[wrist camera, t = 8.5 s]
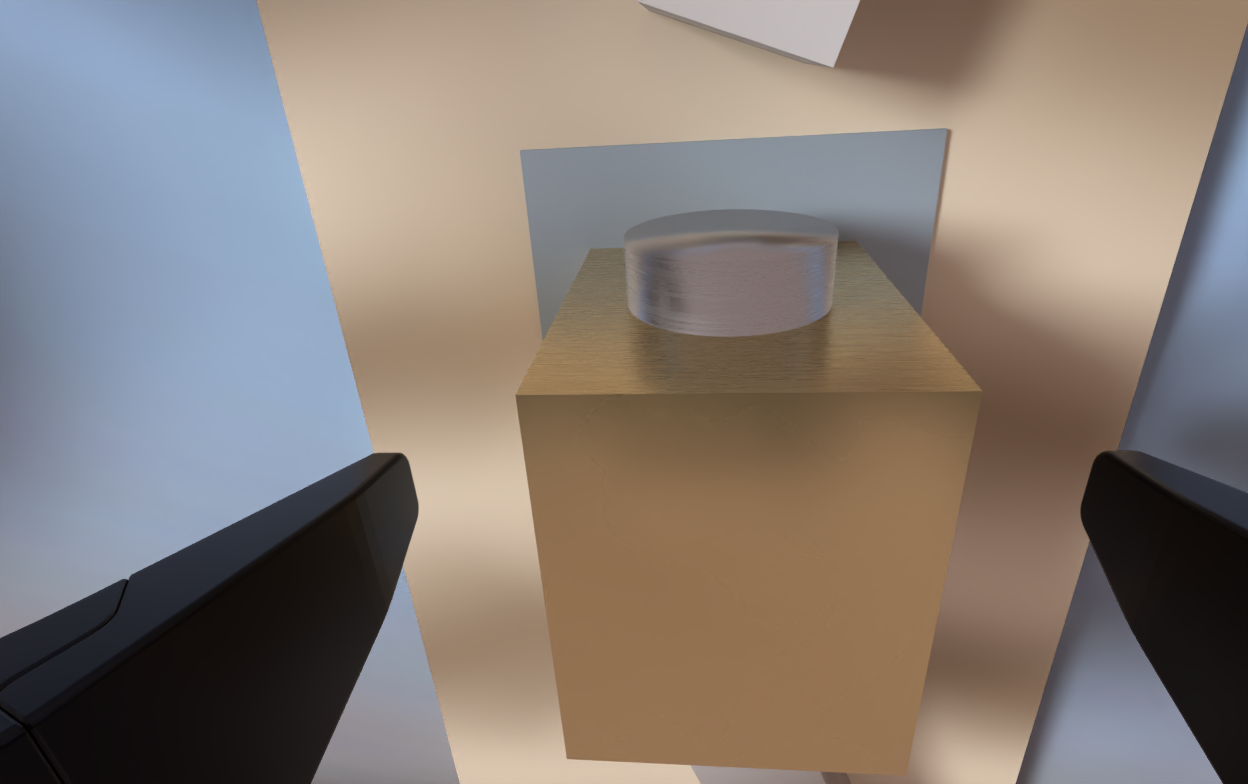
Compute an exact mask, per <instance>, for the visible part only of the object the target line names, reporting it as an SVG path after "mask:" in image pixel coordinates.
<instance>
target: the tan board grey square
mask: <svg viewBox="0 0 1248 784" xmlns="http://www.w3.org/2000/svg"><path fill="white" fill-rule="evenodd" d="M256 1H257V5H258V9H259V13H260V17H261V21H262V25H263V28H264V32H265V36H266V40H267V44H268V48H269V51H270V55H271V59H272V63H273V67H274V71H275V75H276V78H277V82H278V86H279V90H280V94H281V98H282V101H283V105H284V109H285V113H286V117H287V121H288V125H289V128H290V132H291V136H292V140H293V144H294V148H295V151H296V155H297V159H298V163H299V167H300V171H301V175H302V178H303V182H304V186H305V190H306V194H307V198H308V201H309V205H310V209H311V213H312V217H313V221H314V225H315V228H316V232H317V236H318V240H319V244H320V248H321V251H322V255H323V259H324V263H325V267H326V271H327V275H328V278H329V282H330V286H331V290H332V294H333V298H334V301H335V305H336V309H337V313H338V317H339V321H340V324H341V328H342V332H343V336H344V340H345V344H346V348H347V351H348V355H349V359H350V363H351V367H352V371H353V374H354V378H355V382H356V386H357V390H358V394H359V398H360V401H361V405H362V409H363V413H364V417H365V421H366V424H367V428H368V432H369V436H370V440H371V444H372V448H373V451H374V453H384V452H398V453H402V454H404V455H405V456H406V457H407V459H408V461H409V464H410V468H411V472H412V476H413V481H414V485H415V489H416V494H417V498H418V503H419V513H418V519H417V522H416V525H415V528H414V532H413V535H412V538H411V541H410V544H409V547H408V551H407V554H406V557H405V560H404V563H403V567H404V571H405V574H406V578H407V582H408V586H409V590H410V594H411V597H412V601H413V605H414V609H415V613H416V617H417V621H418V624H419V628H420V632H421V636H422V640H423V644H424V647H425V651H426V655H427V659H428V663H429V667H430V671H431V674H432V678H433V682H434V686H435V690H436V694H437V697H438V701H439V705H440V709H441V713H442V717H443V721H444V724H445V728H446V732H447V736H448V740H449V744H450V747H451V751H452V755H453V759H454V763H455V767H456V771H457V774H458V778H459V782H460V784H1016V780H1017V777H1018V774H1019V771H1020V767H1021V764H1022V761H1023V757H1024V754H1025V751H1026V748H1027V744H1028V741H1029V738H1030V735H1031V731H1032V728H1033V725H1034V721H1035V718H1036V715H1037V712H1038V708H1039V705H1040V702H1041V699H1042V695H1043V692H1044V689H1045V685H1046V682H1047V679H1048V676H1049V672H1050V669H1051V666H1052V663H1053V659H1054V656H1055V653H1056V649H1057V646H1058V643H1059V640H1060V636H1061V633H1062V630H1063V627H1064V623H1065V620H1066V617H1067V613H1068V610H1069V607H1070V604H1071V600H1072V597H1073V594H1074V591H1075V587H1076V584H1077V581H1078V577H1079V574H1080V571H1081V568H1082V564H1083V561H1084V558H1085V555H1086V551H1087V548H1088V545H1089V541H1090V540H1089V538H1088V536H1087V533H1086V531H1085V529H1084V527H1083V524H1082V521H1081V516H1080V507H1081V502H1082V498H1083V495H1084V491H1085V488H1086V485H1087V481H1088V478H1089V474H1090V471H1091V467H1092V464H1093V461H1094V459H1095V458H1096V456H1097V455H1098V454H1100V453H1101V452H1103V451H1117V450H1118V446H1119V443H1120V440H1121V437H1122V433H1123V430H1124V427H1125V424H1126V420H1127V417H1128V414H1129V410H1130V407H1131V404H1132V401H1133V397H1134V394H1135V391H1136V388H1137V384H1138V381H1139V378H1140V374H1141V371H1142V368H1143V365H1144V361H1145V358H1146V355H1147V352H1148V348H1149V345H1150V342H1151V338H1152V335H1153V332H1154V329H1155V325H1156V322H1157V319H1158V315H1159V312H1160V309H1161V306H1162V302H1163V299H1164V296H1165V293H1166V289H1167V286H1168V283H1169V279H1170V276H1171V273H1172V270H1173V266H1174V263H1175V260H1176V257H1177V253H1178V250H1179V247H1180V243H1181V240H1182V237H1183V234H1184V230H1185V227H1186V224H1187V221H1188V217H1189V214H1190V211H1191V207H1192V204H1193V201H1194V198H1195V194H1196V191H1197V188H1198V185H1199V181H1200V178H1201V175H1202V171H1203V168H1204V165H1205V162H1206V158H1207V155H1208V152H1209V149H1210V145H1211V142H1212V139H1213V135H1214V132H1215V129H1216V126H1217V122H1218V119H1219V116H1220V113H1221V109H1222V106H1223V103H1224V99H1225V96H1226V93H1227V90H1228V86H1229V83H1230V80H1231V76H1232V73H1233V70H1234V67H1235V63H1236V60H1237V57H1238V54H1239V50H1240V47H1241V44H1242V40H1243V37H1244V34H1245V31H1246V27H1247V24H1248V0H256ZM726 209H755V210H773V211H784V212H791V213H798V214H803V215H808V216H812V217H816V218H819V219H822V220H825V221H827V222H829V223H831V224H833V225H834V226H835V227H836V228H837V229H838V231H839V233H838V241H857V242H858V243H859V244H860V245H861V247H862V248H863V249H864V250H865V251H866V252H867V254H868V255H869V256H870V257H871V258H872V260H873V261H874V262H875V263H876V264H877V266H878V267H879V268H880V269H881V270H882V272H883V273H884V274H885V275H886V276H887V278H888V279H889V280H890V281H891V282H892V284H893V285H894V286H895V287H896V288H897V290H898V291H899V292H900V293H901V294H902V295H903V297H904V298H905V299H906V300H907V301H908V303H909V304H910V305H911V306H912V307H913V309H914V310H915V311H916V312H917V313H918V315H919V316H920V317H921V318H922V319H923V321H924V322H925V323H926V324H927V325H928V327H929V328H930V329H931V330H932V331H933V333H934V334H935V335H936V336H937V337H938V338H939V340H940V341H941V342H942V343H943V344H944V346H945V347H946V348H947V349H948V350H949V352H950V353H951V354H952V355H953V356H954V358H955V359H956V360H957V361H958V362H959V364H960V365H961V366H962V367H963V368H964V370H965V371H966V372H967V373H968V374H969V375H970V377H971V378H972V379H973V380H974V381H975V383H976V384H977V385H978V386H979V387H980V389H981V390H982V391H983V392H982V397H981V402H980V407H979V412H978V417H977V422H976V427H975V432H974V437H973V442H972V447H971V452H970V457H969V462H968V467H967V472H966V477H965V482H964V487H963V492H962V497H961V502H960V507H959V512H958V517H957V522H956V527H955V532H954V537H953V542H952V547H951V552H950V557H949V562H948V567H947V572H946V577H945V582H944V587H943V592H942V597H941V602H940V607H939V612H938V618H937V623H936V628H935V633H934V638H933V643H932V648H931V653H930V658H929V663H928V668H927V673H926V678H925V683H924V688H923V693H922V698H921V703H920V708H919V713H918V718H917V723H916V728H915V733H914V738H913V743H912V748H911V753H910V758H909V763H908V768H907V773H906V776H900V775H880V774H859V773H839V772H818V771H798V770H778V769H757V768H737V767H716V766H696V765H675V764H655V763H634V762H614V761H593V760H573V759H567V757H566V750H565V743H564V736H563V729H562V722H561V714H560V707H559V700H558V693H557V686H556V679H555V672H554V665H553V658H552V651H551V644H550V637H549V630H548V622H547V615H546V608H545V601H544V594H543V587H542V580H541V573H540V566H539V559H538V552H537V545H536V538H535V531H534V523H533V516H532V509H531V502H530V495H529V488H528V481H527V474H526V467H525V460H524V453H523V446H522V439H521V431H520V424H519V417H518V410H517V403H516V396H515V395H516V393H517V391H518V389H519V387H520V385H521V383H522V381H523V379H524V377H525V375H526V373H527V371H528V369H529V367H530V365H531V364H532V362H533V360H534V358H535V356H536V354H537V352H538V350H539V348H540V346H541V344H542V342H543V340H544V338H545V336H546V334H547V332H548V330H549V328H550V326H551V324H552V323H553V321H554V319H555V317H556V315H557V313H558V311H559V309H560V307H561V305H562V303H563V301H564V299H565V297H566V295H567V293H568V291H569V289H570V287H571V285H572V284H573V282H574V280H575V278H576V276H577V274H578V272H579V270H580V268H581V266H582V264H583V262H584V260H585V258H586V256H587V254H588V252H589V250H590V249H601V248H624V235H625V233H626V232H627V231H628V230H629V229H630V228H632V227H634V226H636V225H638V224H640V223H643V222H646V221H649V220H652V219H656V218H660V217H664V216H669V215H675V214H681V213H688V212H697V211H708V210H726Z"/></svg>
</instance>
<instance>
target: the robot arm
mask: <svg viewBox="0 0 1248 784" xmlns="http://www.w3.org/2000/svg"><path fill="white" fill-rule="evenodd" d="M418 513H419V503H418V498H417V494H416V489H415V485H414V481H413V476H412V472H411V468H410V464H409V461H408V459H407V457H406V456H405V455H404V454H402V453H398V452H384V453H374V454H371V455H369V456H367V457H365V458H363V459H361V460H359V461H357V462H355V463H353V464H351V465H349V466H347V467H345V468H343V469H341V470H339V471H337V472H335V473H333V474H331V475H329V476H327V477H325V478H323V479H321V480H319V481H317V482H315V483H313V484H312V485H310V486H308V487H306V488H304V489H302V490H300V491H298V492H296V493H294V494H292V495H290V496H288V497H286V498H284V499H282V500H280V501H278V502H276V503H274V504H272V505H270V506H268V507H266V508H264V509H262V510H260V511H258V512H256V513H254V514H252V515H250V516H248V517H246V518H244V519H242V520H240V521H238V522H236V523H234V524H232V525H230V526H228V527H226V528H224V529H222V530H220V531H218V532H216V533H214V534H212V535H210V536H208V537H206V538H204V539H202V540H200V541H198V542H196V543H194V544H192V545H190V546H188V547H186V548H184V549H182V550H180V551H178V552H176V553H174V554H172V555H170V556H168V557H166V558H164V559H162V560H160V561H158V562H156V563H154V564H152V565H150V566H148V567H146V568H144V569H142V570H140V571H138V572H136V573H134V574H132V575H131V576H130V578H129V580H127V579H122V580H120V581H118V582H116V583H114V584H112V585H110V586H108V587H106V588H104V589H102V590H100V591H98V592H96V593H94V594H92V595H90V596H88V597H86V598H84V599H82V600H80V601H78V602H76V603H74V604H72V605H69V606H67V607H65V608H63V609H61V610H59V611H57V612H55V613H53V614H51V615H49V616H47V617H45V618H43V619H41V620H39V621H36V622H34V623H32V624H30V625H28V626H26V627H23V628H21V629H19V630H17V631H15V632H12V633H10V634H8V635H6V636H4V637H2V638H0V784H311V782H312V780H313V778H314V775H315V773H316V771H317V769H318V766H319V764H320V762H321V760H322V758H323V755H324V753H325V751H326V749H327V746H328V744H329V742H330V740H331V737H332V735H333V733H334V731H335V729H336V726H337V724H338V722H339V720H340V717H341V715H342V713H343V711H344V709H345V706H346V704H347V702H348V700H349V697H350V695H351V693H352V691H353V688H354V686H355V684H356V682H357V680H358V677H359V675H360V673H361V671H362V668H363V666H364V664H365V662H366V660H367V657H368V655H369V653H370V651H371V648H372V646H373V644H374V642H375V640H376V637H377V635H378V633H379V631H380V628H381V626H382V624H383V621H384V619H385V617H386V614H387V612H388V609H389V606H390V603H391V600H392V598H393V595H394V591H395V588H396V585H397V582H398V579H399V576H400V573H401V569H402V566H403V563H404V560H405V557H406V554H407V551H408V547H409V544H410V541H411V538H412V535H413V532H414V528H415V525H416V522H417V519H418ZM1080 516H1081V521H1082V524H1083V527H1084V529H1085V531H1086V533H1087V536H1088V538H1089V540H1090V542H1091V544H1092V547H1093V549H1094V551H1095V553H1096V555H1097V558H1098V560H1099V562H1100V564H1101V566H1102V568H1103V571H1104V573H1105V575H1106V577H1107V579H1108V582H1109V584H1110V586H1111V588H1112V590H1113V592H1114V595H1115V597H1116V599H1117V601H1118V603H1119V606H1120V608H1121V610H1122V612H1123V614H1124V616H1125V618H1126V620H1127V622H1128V624H1129V626H1130V628H1131V630H1132V632H1133V634H1134V635H1135V637H1136V639H1137V641H1138V642H1139V644H1140V646H1141V648H1142V649H1143V651H1144V653H1145V654H1146V656H1147V658H1148V659H1149V661H1150V663H1151V664H1152V666H1153V668H1154V669H1155V671H1156V673H1157V674H1158V676H1159V678H1160V680H1161V681H1162V683H1163V685H1164V686H1165V688H1166V690H1167V691H1168V693H1169V695H1170V696H1171V698H1172V700H1173V701H1174V703H1175V705H1176V706H1177V708H1178V710H1179V711H1180V713H1181V715H1182V716H1183V718H1184V720H1185V721H1186V723H1187V725H1188V726H1189V728H1190V730H1191V731H1192V733H1193V735H1194V736H1195V738H1196V740H1197V741H1198V743H1199V745H1200V746H1201V748H1202V750H1203V751H1204V753H1205V755H1206V756H1207V758H1208V760H1209V761H1210V763H1211V765H1212V766H1213V768H1214V770H1215V771H1216V773H1217V775H1218V776H1219V778H1220V780H1221V781H1222V783H1223V784H1248V493H1246V492H1243V491H1241V490H1238V489H1236V488H1233V487H1231V486H1228V485H1225V484H1223V483H1220V482H1218V481H1215V480H1212V479H1210V478H1207V477H1205V476H1202V475H1199V474H1197V473H1194V472H1192V471H1189V470H1187V469H1184V468H1181V467H1179V466H1176V465H1174V464H1171V463H1168V462H1166V461H1163V460H1161V459H1158V458H1156V457H1153V456H1150V455H1148V454H1145V453H1143V452H1139V451H1103V452H1101V453H1100V454H1098V455H1097V456H1096V458H1095V459H1094V461H1093V464H1092V467H1091V471H1090V474H1089V478H1088V481H1087V485H1086V488H1085V491H1084V495H1083V498H1082V502H1081V507H1080Z"/></svg>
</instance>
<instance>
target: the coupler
mask: <svg viewBox="0 0 1248 784" xmlns="http://www.w3.org/2000/svg"><path fill="white" fill-rule="evenodd" d="M838 233H839V231H838V229H837V228H836V227H835V226H834V225H833V224H831V223H829V222H827V221H825V220H822V219H819V218H816V217H812V216H808V215H803V214H798V213H791V212H784V211H773V210H755V209H726V210H708V211H697V212H688V213H681V214H675V215H669V216H664V217H660V218H656V219H652V220H649V221H646V222H643V223H640V224H638V225H636V226H634V227H632V228H630V229H629V230H628V231H627V232H626V233H625V235H624V248H601V249H590V250H589V252H588V254H587V256H586V258H585V260H584V262H583V264H582V266H581V268H580V270H579V272H578V274H577V276H576V278H575V280H574V282H573V284H572V285H571V287H570V289H569V291H568V293H567V295H566V297H565V299H564V301H563V303H562V305H561V307H560V309H559V311H558V313H557V315H556V317H555V319H554V321H553V323H552V324H551V326H550V328H549V330H548V332H547V334H546V336H545V338H544V340H543V342H542V344H541V346H540V348H539V350H538V352H537V354H536V356H535V358H534V360H533V362H532V364H531V365H530V367H529V369H528V371H527V373H526V375H525V377H524V379H523V381H522V383H521V385H520V387H519V389H518V391H517V393H516V395H515V396H516V403H517V410H518V417H519V424H520V431H521V439H522V446H523V453H524V460H525V467H526V474H527V481H528V488H529V495H530V502H531V509H532V516H533V523H534V531H535V538H536V545H537V552H538V559H539V566H540V573H541V580H542V587H543V594H544V601H545V608H546V615H547V622H548V630H549V637H550V644H551V651H552V658H553V665H554V672H555V679H556V686H557V693H558V700H559V707H560V714H561V722H562V729H563V736H564V743H565V750H566V757H567V759H573V760H593V761H614V762H634V763H655V764H675V765H696V766H716V767H737V768H757V769H778V770H798V771H818V772H839V773H859V774H880V775H900V776H906V773H907V768H908V763H909V758H910V753H911V748H912V743H913V738H914V733H915V728H916V723H917V718H918V713H919V708H920V703H921V698H922V693H923V688H924V683H925V678H926V673H927V668H928V663H929V658H930V653H931V648H932V643H933V638H934V633H935V628H936V623H937V618H938V612H939V607H940V602H941V597H942V592H943V587H944V582H945V577H946V572H947V567H948V562H949V557H950V552H951V547H952V542H953V537H954V532H955V527H956V522H957V517H958V512H959V507H960V502H961V497H962V492H963V487H964V482H965V477H966V472H967V467H968V462H969V457H970V452H971V447H972V442H973V437H974V432H975V427H976V422H977V417H978V412H979V407H980V402H981V397H982V392H983V391H982V390H981V389H980V387H979V386H978V385H977V384H976V383H975V381H974V380H973V379H972V378H971V377H970V375H969V374H968V373H967V372H966V371H965V370H964V368H963V367H962V366H961V365H960V364H959V362H958V361H957V360H956V359H955V358H954V356H953V355H952V354H951V353H950V352H949V350H948V349H947V348H946V347H945V346H944V344H943V343H942V342H941V341H940V340H939V338H938V337H937V336H936V335H935V334H934V333H933V331H932V330H931V329H930V328H929V327H928V325H927V324H926V323H925V322H924V321H923V319H922V318H921V317H920V316H919V315H918V313H917V312H916V311H915V310H914V309H913V307H912V306H911V305H910V304H909V303H908V301H907V300H906V299H905V298H904V297H903V295H902V294H901V293H900V292H899V291H898V290H897V288H896V287H895V286H894V285H893V284H892V282H891V281H890V280H889V279H888V278H887V276H886V275H885V274H884V273H883V272H882V270H881V269H880V268H879V267H878V266H877V264H876V263H875V262H874V261H873V260H872V258H871V257H870V256H869V255H868V254H867V252H866V251H865V250H864V249H863V248H862V247H861V245H860V244H859V243H858V242H857V241H838Z"/></svg>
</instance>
